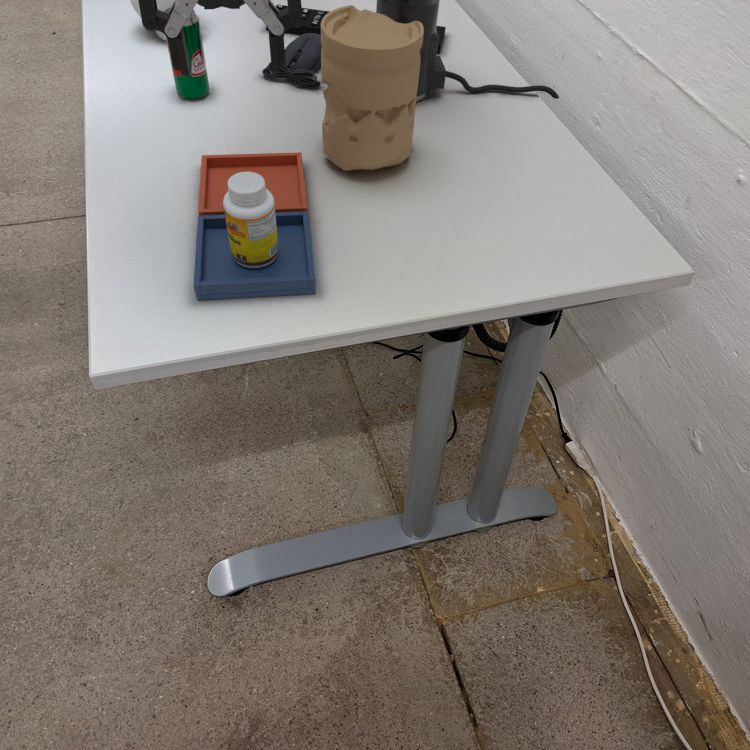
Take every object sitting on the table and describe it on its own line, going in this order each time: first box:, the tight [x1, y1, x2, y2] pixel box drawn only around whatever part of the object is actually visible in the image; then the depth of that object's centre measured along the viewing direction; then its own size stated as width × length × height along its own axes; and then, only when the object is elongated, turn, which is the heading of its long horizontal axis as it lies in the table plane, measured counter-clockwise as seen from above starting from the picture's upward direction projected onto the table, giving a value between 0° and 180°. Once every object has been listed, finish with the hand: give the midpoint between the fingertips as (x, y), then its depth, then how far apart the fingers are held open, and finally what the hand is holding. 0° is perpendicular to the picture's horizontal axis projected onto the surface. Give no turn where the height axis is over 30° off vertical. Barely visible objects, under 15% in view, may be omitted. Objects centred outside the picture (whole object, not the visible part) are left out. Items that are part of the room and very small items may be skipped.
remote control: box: [265, 4, 447, 55], centre depth 115 cm, size 8×32×2 cm, turn 79°
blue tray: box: [193, 210, 317, 301], centre depth 76 cm, size 13×12×2 cm
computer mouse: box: [261, 33, 322, 90], centre depth 106 cm, size 10×15×4 cm
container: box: [320, 4, 424, 172], centre depth 84 cm, size 13×13×18 cm
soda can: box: [164, 7, 211, 101], centre depth 95 cm, size 5×5×12 cm
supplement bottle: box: [223, 172, 278, 268], centre depth 72 cm, size 6×6×10 cm
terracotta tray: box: [197, 152, 309, 216], centre depth 84 cm, size 13×12×2 cm
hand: (231, 71), depth 62 cm, fingers open, 8 cm apart
